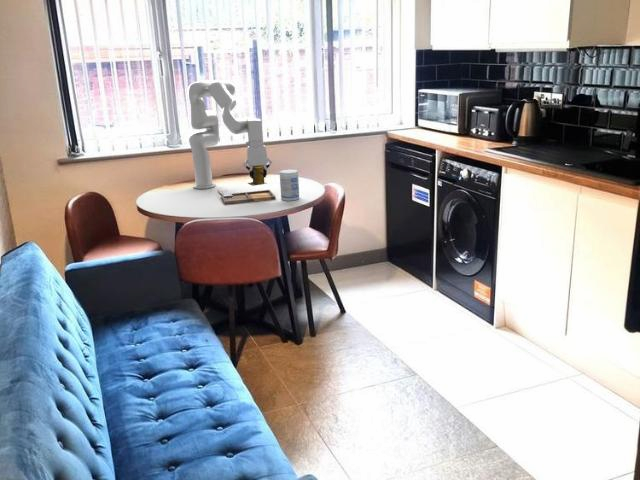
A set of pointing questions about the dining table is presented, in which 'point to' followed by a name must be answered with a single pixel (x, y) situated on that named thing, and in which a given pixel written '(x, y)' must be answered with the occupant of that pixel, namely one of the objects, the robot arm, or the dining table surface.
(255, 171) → the condiment
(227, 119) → the robot arm
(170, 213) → the dining table surface
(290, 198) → the supplement tub
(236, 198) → the divided wooden tray
